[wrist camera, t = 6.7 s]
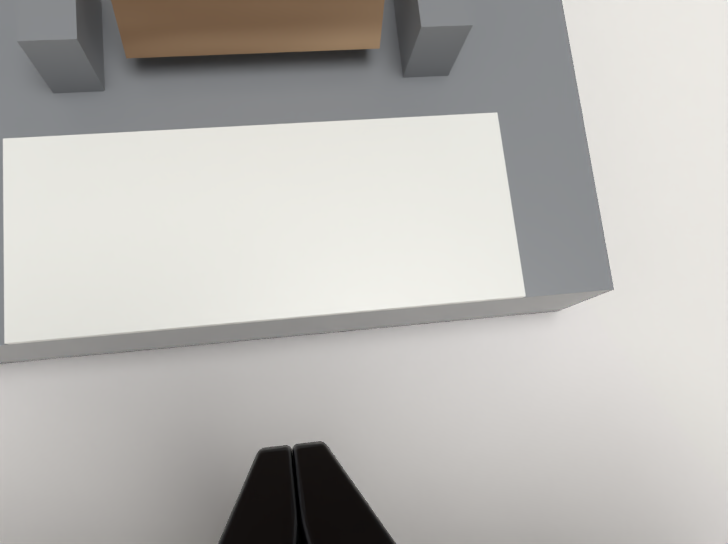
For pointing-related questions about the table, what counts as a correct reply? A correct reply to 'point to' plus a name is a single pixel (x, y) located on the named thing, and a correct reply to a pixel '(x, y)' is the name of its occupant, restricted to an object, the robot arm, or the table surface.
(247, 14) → the lever
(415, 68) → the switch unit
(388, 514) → the table surface
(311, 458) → the robot arm
